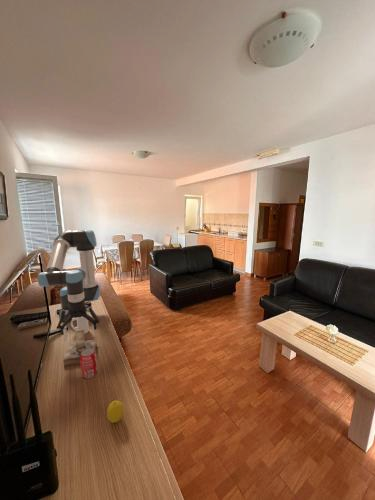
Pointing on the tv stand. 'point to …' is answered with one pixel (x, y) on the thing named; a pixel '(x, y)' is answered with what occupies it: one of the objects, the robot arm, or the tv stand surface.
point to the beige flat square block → (73, 354)
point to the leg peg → (80, 339)
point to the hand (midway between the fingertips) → (80, 337)
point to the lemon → (115, 411)
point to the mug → (81, 324)
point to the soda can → (88, 363)
